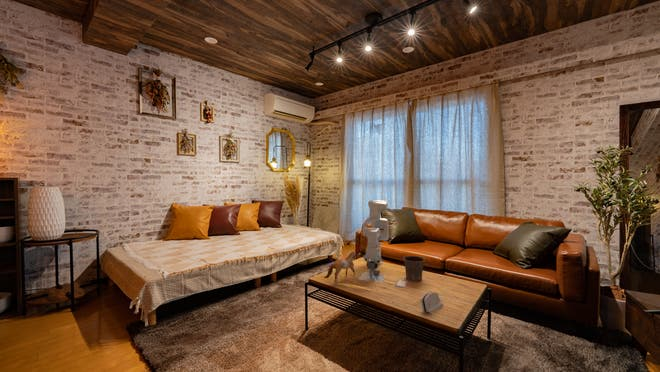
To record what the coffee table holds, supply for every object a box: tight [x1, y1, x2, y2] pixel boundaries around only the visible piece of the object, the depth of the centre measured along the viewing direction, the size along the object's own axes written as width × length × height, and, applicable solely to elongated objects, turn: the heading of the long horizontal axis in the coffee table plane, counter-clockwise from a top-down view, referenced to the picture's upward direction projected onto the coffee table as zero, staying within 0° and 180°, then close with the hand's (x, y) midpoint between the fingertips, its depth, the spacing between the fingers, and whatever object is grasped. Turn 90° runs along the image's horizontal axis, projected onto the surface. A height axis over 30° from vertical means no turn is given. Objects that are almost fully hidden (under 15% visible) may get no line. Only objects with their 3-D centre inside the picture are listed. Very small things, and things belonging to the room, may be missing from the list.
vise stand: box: [357, 269, 386, 284], centre depth 216 cm, size 18×18×6 cm
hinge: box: [420, 291, 444, 315], centre depth 169 cm, size 17×5×10 cm, turn 132°
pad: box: [394, 279, 408, 289], centre depth 207 cm, size 11×11×1 cm
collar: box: [367, 260, 376, 270], centre depth 216 cm, size 6×6×5 cm
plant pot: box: [403, 255, 425, 282], centre depth 217 cm, size 16×16×16 cm
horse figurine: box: [323, 251, 357, 286], centre depth 211 cm, size 31×8×21 cm, turn 126°
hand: (372, 267), depth 216 cm, fingers closed on collar, 6 cm apart
